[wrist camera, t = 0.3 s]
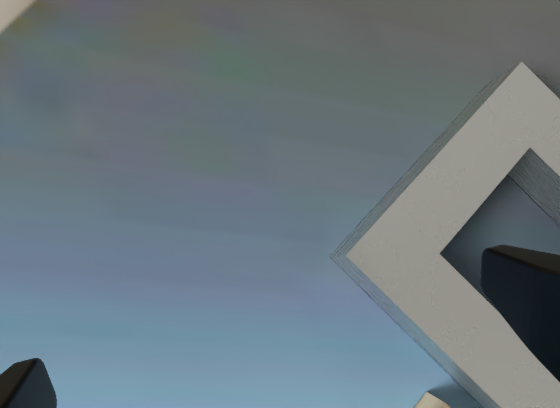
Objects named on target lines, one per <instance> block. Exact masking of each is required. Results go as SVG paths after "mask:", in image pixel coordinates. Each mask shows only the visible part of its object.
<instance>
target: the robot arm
mask: <svg viewBox="0 0 560 408" xmlns="http://www.w3.org/2000/svg"><path fill="white" fill-rule="evenodd" d="M481 287H482V290H483V292H484V293H485V295H486V296H487V297H488V299H489V300H490V301H491V303H492V304H493V305H494V306H495V308H496V309H497V310H498V312H499V313H500V314H501V315H502V317H503V318H504V319H505V321H506V322H507V323H508V324H509V326H510V327H511V328H512V329H513V331H514V332H515V333H516V335H517V336H518V337H519V338H520V340H521V341H522V342H523V343H524V345H525V346H526V347H527V348H528V349H529V350H530V352H531V353H532V354H533V355H534V356H535V357H536V358H537V359H538V360H539V361H540V362H541V363H542V364H543V366H544V367H545V368H546V369H547V370H548V371H549V372H550V373H551V374H552V375H553V376H554V377H555V378H556V379H557V380H558V381H559V382H560V255H556V254H551V253H546V252H540V251H535V250H529V249H524V248H518V247H513V246H508V245H498V246H494V247H490V248H486V249H485V250H484V251H483V253H482V260H481ZM56 407H57V400H56V394H55V391H54V388H53V385H52V383H51V380H50V378H49V375H48V373H47V370H46V368H45V365H44V363H43V362H42V360H41V359H39V358H33V359H29V360H25V361H21V362H17V363H14V364H13V365H12V366H10V367H9V368H8V369H7V370H6V371H4V372H3V373H2V374H1V375H0V408H56Z"/></svg>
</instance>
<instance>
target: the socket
mask: <svg viewBox="0 0 560 408" xmlns="http://www.w3.org/2000/svg"><path fill="white" fill-rule="evenodd" d="M507 174H508V175H509V176H510V177H511V178H512V179H513V180H514V181H515V182H516V183H517V184H518V185H519V186H520V187H521V188H522V189H523V190H524V191H525V192H526V193H527V194H528V195H529V196H530V197H531V198H532V199H533V200H534V201H535V202H536V203H537V204H538V205H539V206H540V207H541V208H542V209H543V210H544V211H545V212H546V213H547V214H548V215H549V216H550V217H551V218H552V219H553V220H554V221H555V222H556V223H557V224H558V225H559V226H560V99H559V98H558V97H557V96H556V95H555V94H554V93H553V92H552V91H551V90H550V89H549V88H548V87H547V86H546V85H545V84H544V83H543V82H542V81H541V80H540V79H539V78H538V77H537V76H536V75H535V74H534V73H533V72H532V71H531V70H530V69H529V68H527V67H526V66H525V65H524V64H523V63H522V62H520V63H519V64H517V65H516V66H514V67H513V68H511V69H510V70H508V71H507V72H505V73H504V74H502V75H501V76H499V77H498V78H496V79H495V80H493V81H492V82H490V83H489V84H487V85H486V86H485V88H484V89H483V90H482V91H481V92H480V93H479V94H478V95H477V96H476V97H475V98H474V100H473V101H472V102H471V103H470V104H469V105H468V106H467V107H466V108H465V109H464V110H463V112H462V113H461V114H460V115H459V116H458V117H457V118H456V119H455V120H454V121H453V122H452V124H451V125H450V126H449V127H448V128H447V129H446V130H445V131H444V132H443V133H442V134H441V136H440V137H439V138H438V139H437V140H436V141H435V142H434V143H433V144H432V145H431V146H430V148H429V149H428V150H427V151H426V152H425V153H424V154H423V155H422V156H421V157H420V158H419V160H418V161H417V162H416V163H415V164H414V165H413V166H412V167H411V168H410V169H409V170H408V172H407V173H406V174H405V175H404V176H403V177H402V178H401V179H400V180H399V181H398V182H397V184H396V185H395V186H394V187H393V188H392V189H391V190H390V191H389V192H388V193H387V194H386V196H385V197H384V198H383V199H382V200H381V201H380V202H379V203H378V204H377V205H376V206H375V208H374V209H373V210H372V211H371V212H370V213H369V214H368V215H367V216H366V217H365V218H364V220H363V221H362V222H361V223H360V224H359V225H358V226H357V227H356V228H355V229H354V230H353V232H352V233H351V234H350V235H349V236H348V237H347V238H346V239H345V240H344V241H343V242H342V244H341V245H340V246H339V247H338V248H337V249H336V250H335V251H334V252H333V253H332V254H331V256H330V258H331V259H332V260H333V261H334V262H335V263H336V264H337V265H338V266H339V267H340V268H341V269H342V270H343V271H344V272H345V273H346V274H347V275H349V276H350V277H351V278H352V279H353V280H354V281H355V282H356V283H357V284H358V285H359V286H360V287H361V288H362V289H363V290H364V291H365V292H366V293H367V294H368V295H369V296H370V297H371V298H372V299H373V300H374V301H375V302H376V303H377V304H378V305H379V306H380V307H381V308H382V309H383V310H384V311H385V312H386V313H387V314H388V315H389V316H390V317H391V318H392V319H393V320H394V321H395V322H396V323H397V324H398V325H399V326H400V327H402V328H403V329H404V330H405V331H406V332H407V333H408V334H409V335H410V336H411V337H412V338H413V339H414V340H415V341H416V342H417V343H418V344H419V345H420V346H421V347H422V348H423V349H424V350H425V351H426V352H427V353H428V354H429V355H430V356H431V357H432V358H433V359H434V360H435V361H436V362H437V363H438V364H439V365H440V366H441V367H442V368H443V369H444V370H445V371H446V372H447V373H448V374H449V375H450V376H451V377H452V378H453V379H455V380H456V381H457V382H458V383H459V384H460V385H461V386H462V387H463V388H464V389H465V390H466V391H467V392H468V393H469V394H470V395H471V396H472V397H473V398H474V399H475V400H476V401H477V402H478V403H479V404H480V405H481V406H482V407H483V408H560V382H559V381H558V380H557V379H556V378H555V377H554V376H553V375H552V374H551V373H550V372H549V371H548V370H547V369H546V368H545V367H544V366H543V364H542V363H541V362H540V361H539V360H538V359H537V358H536V357H535V356H534V355H533V354H532V353H531V352H530V350H529V349H528V348H527V347H526V346H525V345H524V343H523V342H522V341H521V340H520V338H519V337H518V336H517V335H516V333H515V332H514V331H513V329H512V328H511V327H510V326H509V324H508V323H507V322H506V321H505V319H504V318H503V317H502V315H501V314H500V313H499V312H498V311H497V310H496V309H495V308H494V307H493V306H492V305H491V304H490V303H489V302H488V301H487V300H486V299H485V298H484V297H483V296H482V295H481V294H480V293H479V292H478V291H477V290H476V289H475V288H474V287H473V286H472V285H471V284H470V283H469V282H468V281H467V280H466V279H465V278H464V277H463V276H462V275H461V274H459V273H458V272H457V271H456V270H455V269H454V268H453V267H452V266H451V265H450V264H449V263H448V262H447V261H446V260H445V259H444V258H443V257H442V256H441V255H440V252H441V251H442V250H443V249H444V248H445V247H446V245H447V244H448V243H449V242H450V241H451V239H452V238H453V237H454V236H455V235H456V234H457V232H458V231H459V230H460V229H461V228H462V227H463V225H464V224H465V223H466V222H467V221H468V220H469V218H470V217H471V216H472V215H473V214H474V212H475V211H476V210H477V209H478V208H479V207H480V205H481V204H482V203H483V202H484V201H485V200H486V198H487V197H488V196H489V195H490V194H491V192H492V191H493V190H494V189H495V188H496V187H497V185H498V184H499V183H500V182H501V181H502V180H503V178H504V177H505V176H506V175H507Z"/></svg>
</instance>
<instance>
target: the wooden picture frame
mask: <svg viewBox="0 0 560 408" xmlns="http://www.w3.org/2000/svg"><path fill="white" fill-rule="evenodd" d="M414 408H450V407H449V406H448V405H447V404H446V403H445V402H443V401H441V400H440V399H438V398H436V397H435V396H433V395H431V394H430V393H428V392H426V393H425V394H424V396H423V397H422V398H421V400H420V401H419V402H418V403H417V405H416V406H415V407H414Z"/></svg>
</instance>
